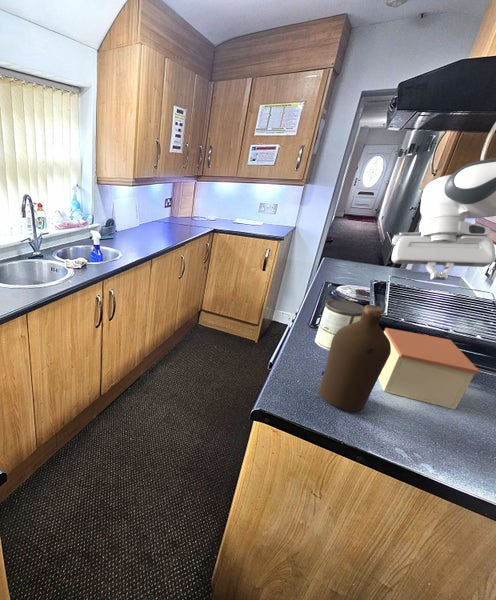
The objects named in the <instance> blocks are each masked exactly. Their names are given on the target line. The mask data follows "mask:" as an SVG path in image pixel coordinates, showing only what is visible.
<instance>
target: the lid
mask: <svg viewBox="0 0 496 600" xmlns="http://www.w3.org/2000/svg"><path fill="white" fill-rule="evenodd" d="M384 331H385V332H386V333H387V335H388V337H389V339H390V340H391V342H392V344H393V345H394V347H395V349H396V351H397V352H398V354H399V356H400V357H401V358H406V359H411V360H415V361H420V362H424V363H429V364H434V365H438V366H443V367H448V368H452V369H457V370H461V371H466V372H471V373H475V374H474V375H478V374H479V372H480V370H479V369H478V368H477V366H476V365H475V364H473V362H472V361H471V360H470V359H469V358H468V357H467V356H466V355H465V354H464V353H463V352H462V351H461V349H460V348H459V347H458V346H457V345H456V344H455V343H454V342H453V340H452V339H448V338H442V337H438V336H432V335H427V334H422V333H415V332H412V331H406V330H400V329H395V328H389V327H385V328H384Z"/></svg>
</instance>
